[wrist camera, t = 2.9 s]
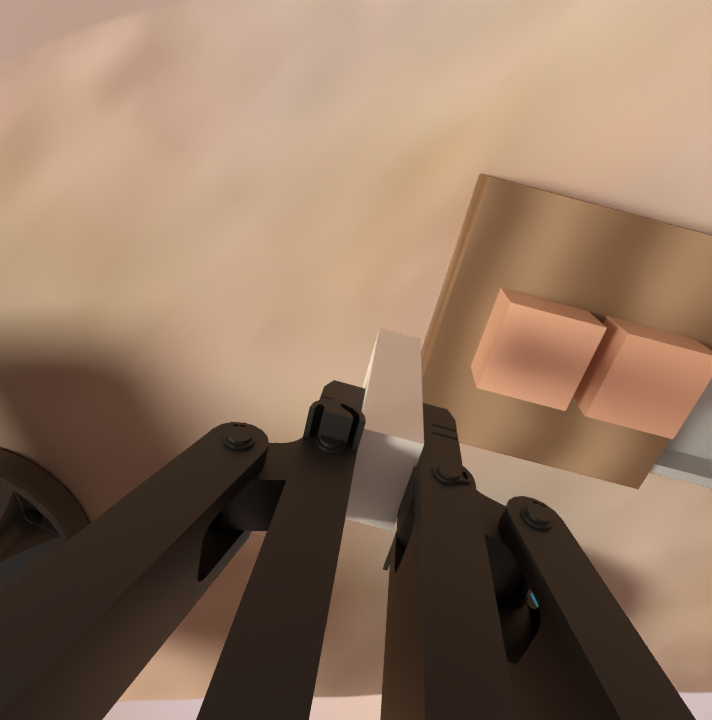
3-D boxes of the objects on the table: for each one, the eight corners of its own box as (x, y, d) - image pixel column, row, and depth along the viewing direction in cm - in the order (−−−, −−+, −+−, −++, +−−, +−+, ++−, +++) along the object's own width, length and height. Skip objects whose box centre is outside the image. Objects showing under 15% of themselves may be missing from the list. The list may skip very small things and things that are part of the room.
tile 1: (569, 392, 26) (584, 416, 23) (607, 315, 24) (628, 333, 21) (649, 413, 26) (673, 439, 23) (693, 338, 24) (723, 358, 22)
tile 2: (470, 366, 26) (477, 388, 23) (500, 287, 24) (510, 302, 21) (551, 387, 26) (565, 411, 23) (587, 310, 24) (607, 328, 21)
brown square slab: (405, 399, 31) (405, 428, 28) (479, 173, 25) (490, 177, 22) (614, 454, 31) (638, 489, 28) (736, 241, 25) (784, 255, 22)
